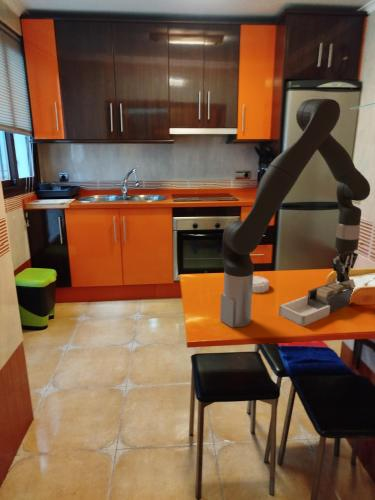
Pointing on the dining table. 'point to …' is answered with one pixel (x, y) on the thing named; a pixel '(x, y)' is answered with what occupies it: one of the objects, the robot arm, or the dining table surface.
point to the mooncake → (260, 284)
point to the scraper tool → (347, 281)
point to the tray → (302, 312)
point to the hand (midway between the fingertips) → (342, 280)
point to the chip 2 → (336, 288)
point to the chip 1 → (324, 293)
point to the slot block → (330, 299)
